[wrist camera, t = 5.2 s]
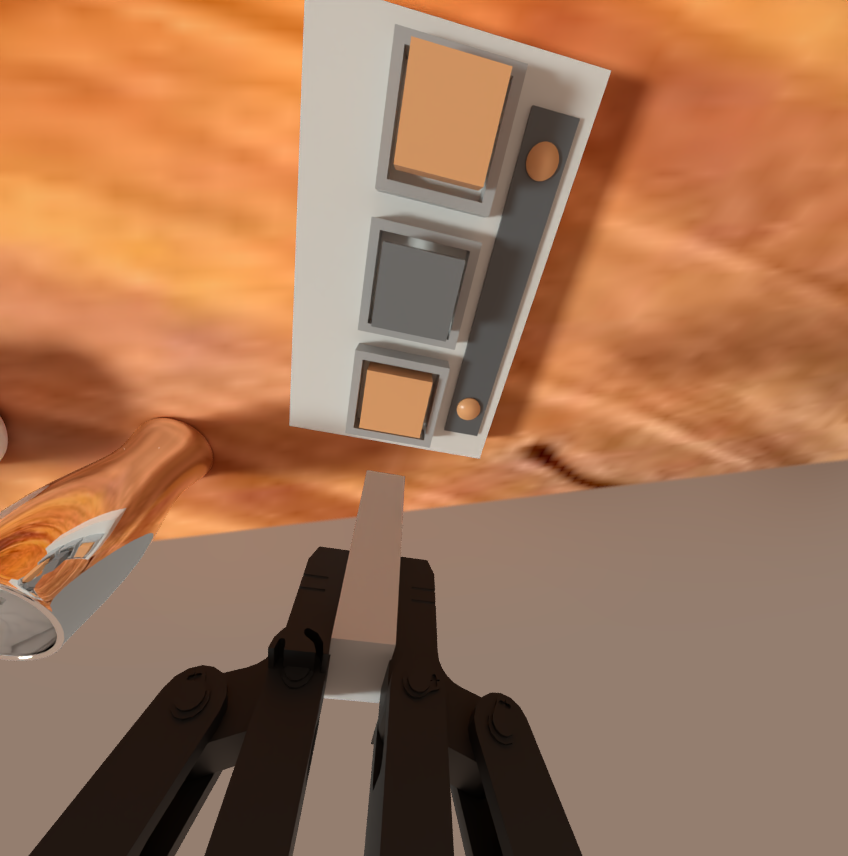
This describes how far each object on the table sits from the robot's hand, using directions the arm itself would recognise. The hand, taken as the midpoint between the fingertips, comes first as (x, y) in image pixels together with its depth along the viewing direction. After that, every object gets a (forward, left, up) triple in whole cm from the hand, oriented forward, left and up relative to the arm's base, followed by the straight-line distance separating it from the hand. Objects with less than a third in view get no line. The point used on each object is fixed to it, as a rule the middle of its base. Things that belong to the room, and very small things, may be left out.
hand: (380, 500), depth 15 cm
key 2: (-14, 0, -9) cm, 17 cm away
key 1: (0, 0, -11) cm, 11 cm away
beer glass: (+10, -17, -14) cm, 24 cm away
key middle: (-7, 0, -9) cm, 12 cm away
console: (-7, 0, -14) cm, 16 cm away
